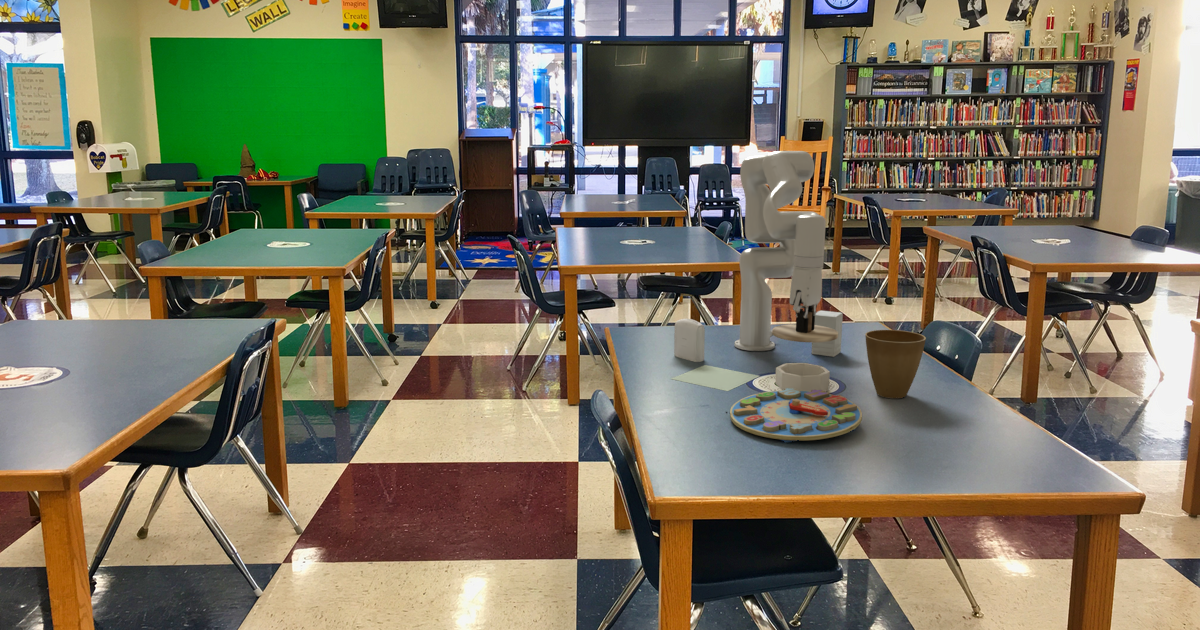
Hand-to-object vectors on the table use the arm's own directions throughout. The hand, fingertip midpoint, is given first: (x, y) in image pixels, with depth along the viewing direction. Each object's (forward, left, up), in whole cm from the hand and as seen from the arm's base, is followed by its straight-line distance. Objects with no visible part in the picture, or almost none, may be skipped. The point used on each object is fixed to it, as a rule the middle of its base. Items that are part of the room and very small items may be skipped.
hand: (805, 330), depth 234 cm
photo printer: (-5, -39, -16) cm, 43 cm away
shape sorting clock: (+27, +11, -17) cm, 33 cm away
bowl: (0, 0, -16) cm, 16 cm away
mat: (+8, -22, -16) cm, 28 cm away
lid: (0, 0, -1) cm, 1 cm away
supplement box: (-38, -10, -16) cm, 43 cm away
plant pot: (-9, +21, -16) cm, 28 cm away
